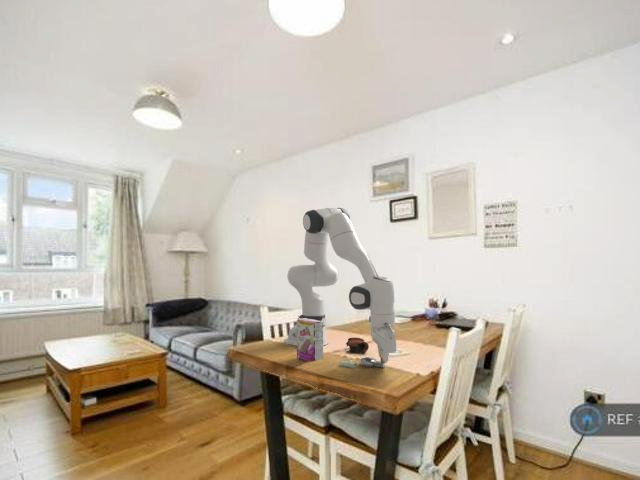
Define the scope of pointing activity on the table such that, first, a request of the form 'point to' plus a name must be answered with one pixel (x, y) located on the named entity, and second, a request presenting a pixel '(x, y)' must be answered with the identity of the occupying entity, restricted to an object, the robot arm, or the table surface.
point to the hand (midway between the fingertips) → (383, 359)
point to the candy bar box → (309, 339)
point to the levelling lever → (372, 361)
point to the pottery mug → (357, 345)
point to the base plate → (348, 364)
